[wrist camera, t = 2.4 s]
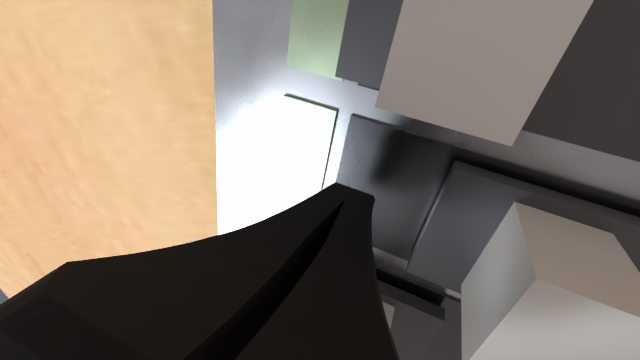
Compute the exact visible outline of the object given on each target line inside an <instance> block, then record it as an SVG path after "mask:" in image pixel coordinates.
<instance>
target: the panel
mask: <svg viewBox="0 0 640 360" xmlns="http://www.w3.org/2000/svg"><path fill="white" fill-rule="evenodd" d="M348 4H349V0H213V40H214V81H215V121H216V161H217V202H218V235H220V234H224V233H227V232H231V231H234V230H237V229H240V228H242V227H245V226H248V225H251V224H253V223H256V222H258V221H261V220H263V219H266V218H268V217H270V216H272V215H274V214H277V213H279V212H281V211H283V210H285V209H287V208H289V207H291V206H293V205H295V204H297V203H299V202H301V201H303V200H305V199H307V198H308V197H310V196H312V195H314V194H316V193H317V192H319V191H321V190H322V189H324V188H326V187H328V186H329V185H331V184H333V183H335V182H337V183H340V184H343V185H346V186H349V187H351V188H354V189H357V190H360V191H363V192H365V193H368V194H371V195H373V196H374V198H375V203H374V206H373V211H372V245H373V255H374V262H375V269H376V275H377V280H379V281H382V282H384V283H386V284H389V285H391V286H393V287H396V288H398V289H400V290H403V291H405V292H407V293H410V294H412V295H415V296H417V297H419V298H422V299H424V300H426V301H429V302H431V303H433V304H436V305H438V306H440V307H443V308H445V322H444V323H443V325H442V326H441V328H440V329H439V331H438V332H437V334H436V335H435V337H434V338H433V340H432V341H431V343H430V344H429V346H428V348H427V349H426V351H425V352H424V354H423V355H422V357H421V358H420V360H462V328H461V294H460V293H457V292H455V291H452V290H450V289H447V288H445V287H442V286H440V285H438V284H435V283H433V282H430V281H428V280H425V279H423V278H420V277H418V276H416V275H413V274H411V273H408V272H406V269H407V264H408V260H409V258H410V255H411V253H412V251H413V249H414V247H415V245H416V242H417V240H418V238H419V236H420V234H421V232H422V229H423V227H424V225H425V223H426V221H427V219H428V217H429V214H430V212H431V210H432V208H433V206H434V204H435V201H436V199H437V197H438V195H439V193H440V191H441V188H442V186H443V184H444V182H445V180H446V178H447V175H448V173H449V171H450V169H451V167H452V165H453V162H454V160H456V161H459V162H462V163H465V164H469V165H472V166H475V167H478V168H482V169H485V170H488V171H491V172H494V173H498V174H501V175H504V176H507V177H511V178H514V179H517V180H520V181H524V182H527V183H530V184H533V185H536V186H540V187H543V188H546V189H549V190H553V191H556V192H559V193H562V194H566V195H569V196H572V197H575V198H578V199H582V200H585V201H588V202H591V203H595V204H598V205H601V206H604V207H608V208H611V209H614V210H617V211H620V212H624V213H627V214H630V215H633V216H637V217H640V26H639V28H638V29H637V31H636V32H635V34H634V35H633V37H632V38H631V40H630V42H629V43H628V45H627V46H626V48H625V49H624V51H623V52H622V54H621V55H620V57H619V58H618V60H617V61H616V63H615V64H614V66H613V67H612V69H611V70H610V72H609V73H608V75H607V76H606V78H605V79H604V81H603V82H602V84H601V85H600V87H599V88H598V90H597V92H596V93H595V95H594V96H593V98H592V99H591V101H590V102H589V104H588V105H587V107H586V108H585V110H584V111H583V113H582V114H581V116H580V117H579V119H578V120H577V122H576V123H575V125H574V126H573V128H572V129H571V131H570V132H569V134H568V135H567V137H566V138H565V139H564V138H560V137H556V136H553V135H549V134H545V133H542V132H538V131H534V130H530V129H527V128H523V127H522V129H521V130H520V132H519V134H518V136H517V138H516V139H515V141H514V143H513V145H512V146H508V145H504V144H501V143H498V142H494V141H491V140H487V139H484V138H480V137H477V136H473V135H470V134H466V133H463V132H459V131H456V130H452V129H449V128H445V127H442V126H438V125H435V124H431V123H428V122H424V121H421V120H417V119H414V118H410V117H407V116H403V115H400V114H396V113H393V112H389V111H386V110H382V109H379V108H375V104H376V101H377V97H378V93H379V90H380V89H379V88H375V87H372V86H368V85H364V84H360V83H357V82H353V81H349V80H346V79H342V78H338V77H335V74H336V68H337V63H338V57H339V52H340V47H341V41H342V36H343V30H344V25H345V20H346V14H347V9H348Z"/></svg>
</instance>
